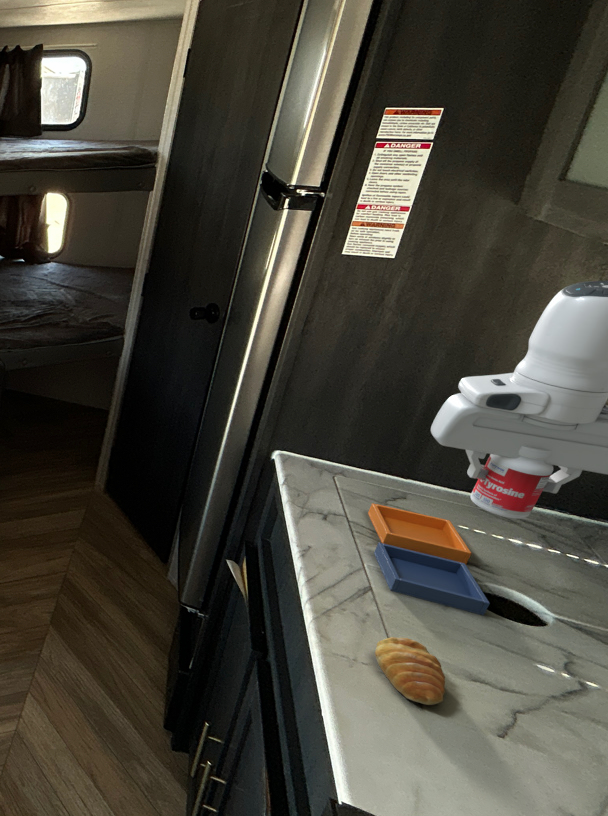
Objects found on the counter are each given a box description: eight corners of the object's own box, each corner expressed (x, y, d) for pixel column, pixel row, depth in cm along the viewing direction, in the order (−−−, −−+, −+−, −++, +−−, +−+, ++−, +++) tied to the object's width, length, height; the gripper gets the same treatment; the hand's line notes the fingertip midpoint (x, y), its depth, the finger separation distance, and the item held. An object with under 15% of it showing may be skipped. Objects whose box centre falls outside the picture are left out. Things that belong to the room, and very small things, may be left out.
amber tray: (444, 531, 115) (450, 520, 114) (466, 564, 107) (471, 553, 106) (367, 513, 120) (372, 502, 119) (382, 544, 112) (387, 533, 111)
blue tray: (458, 574, 105) (464, 563, 104) (483, 615, 97) (490, 603, 96) (373, 553, 110) (378, 542, 109) (390, 590, 101) (395, 578, 100)
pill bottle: (459, 500, 94) (489, 435, 90) (484, 492, 96) (514, 428, 92) (513, 524, 89) (548, 457, 85) (538, 515, 91) (573, 449, 87)
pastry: (455, 718, 80) (467, 697, 79) (388, 698, 83) (398, 677, 82) (427, 663, 88) (438, 643, 87) (367, 647, 91) (376, 627, 90)
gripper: (648, 404, 84) (599, 491, 89) (446, 376, 93) (412, 456, 98) (680, 424, 79) (625, 515, 84) (463, 392, 88) (426, 476, 93)
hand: (509, 483), depth 91 cm, fingers closed on pill bottle, 6 cm apart
